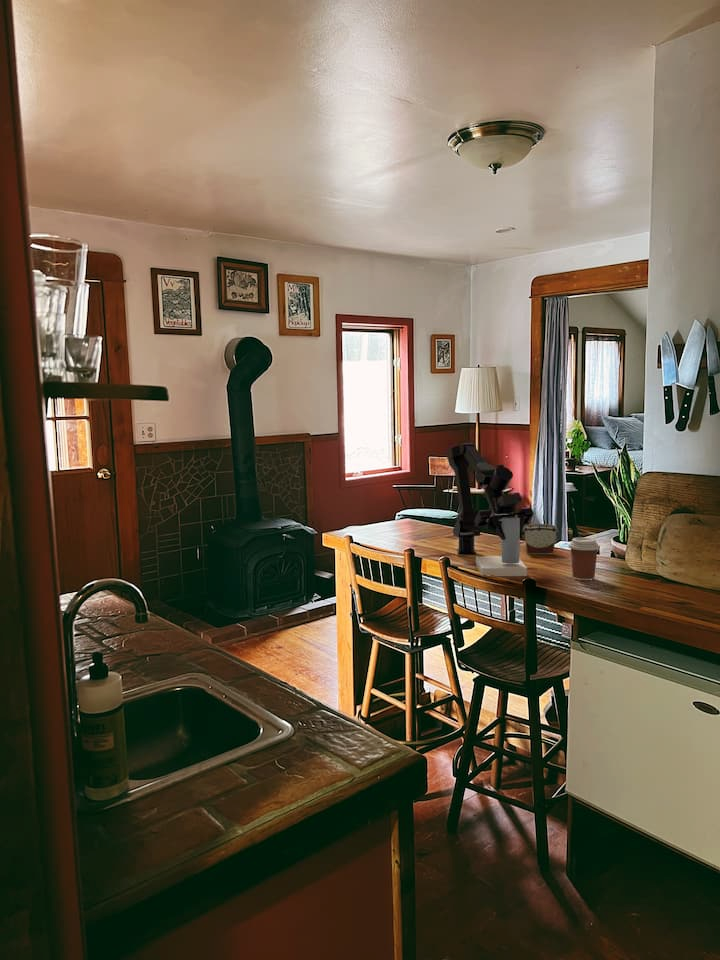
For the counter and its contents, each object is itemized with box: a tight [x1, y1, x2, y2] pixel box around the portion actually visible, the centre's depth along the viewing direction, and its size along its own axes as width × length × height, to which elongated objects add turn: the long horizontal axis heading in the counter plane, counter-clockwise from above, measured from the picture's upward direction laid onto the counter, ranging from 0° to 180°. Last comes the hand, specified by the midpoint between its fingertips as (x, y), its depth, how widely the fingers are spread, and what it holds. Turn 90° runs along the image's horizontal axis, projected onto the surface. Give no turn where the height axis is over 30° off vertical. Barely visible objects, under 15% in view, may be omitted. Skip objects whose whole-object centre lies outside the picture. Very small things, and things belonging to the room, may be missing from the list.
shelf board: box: [475, 555, 528, 577], centre depth 229 cm, size 18×14×2 cm
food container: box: [522, 523, 559, 555], centre depth 255 cm, size 12×6×10 cm, turn 84°
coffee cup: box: [568, 537, 600, 581], centre depth 215 cm, size 9×9×12 cm
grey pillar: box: [501, 517, 521, 564], centre depth 224 cm, size 6×6×14 cm
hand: (512, 538), depth 222 cm, fingers closed on grey pillar, 5 cm apart
